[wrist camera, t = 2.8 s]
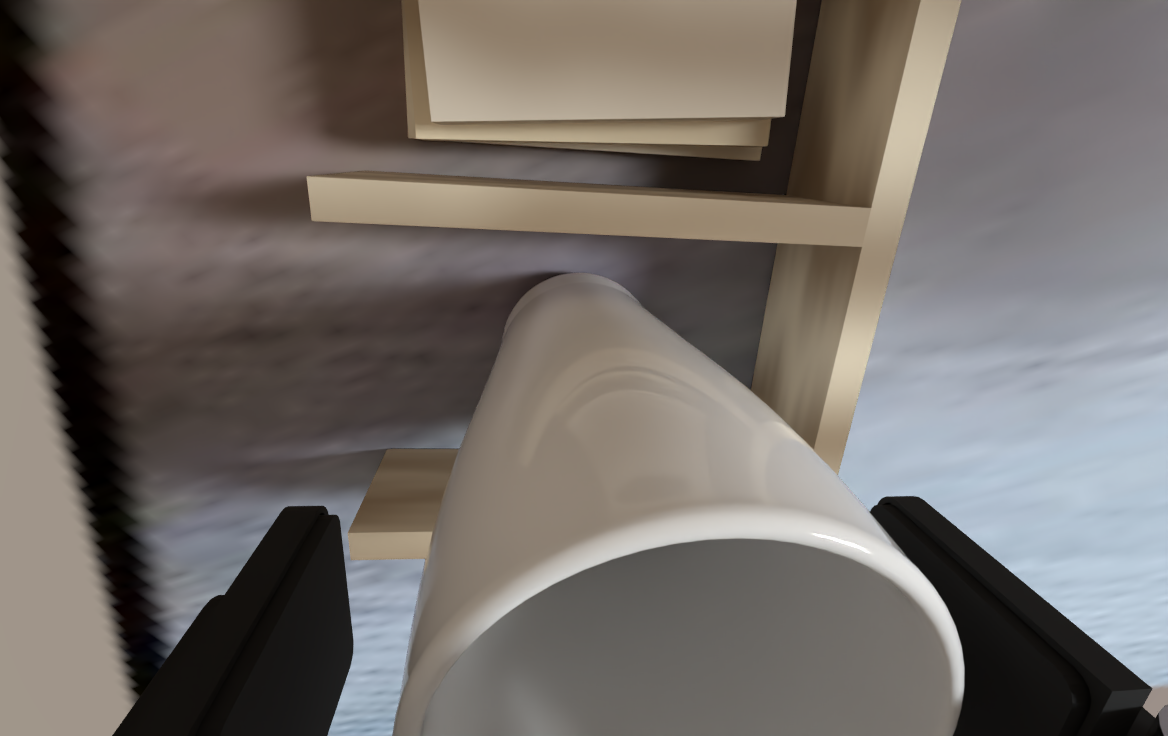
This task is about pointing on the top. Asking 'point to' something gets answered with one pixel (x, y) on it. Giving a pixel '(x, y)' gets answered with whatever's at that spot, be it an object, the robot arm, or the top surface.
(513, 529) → the white vase
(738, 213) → the rack
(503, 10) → the offcut top
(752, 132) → the board
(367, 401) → the top surface
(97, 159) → the top surface
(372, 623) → the top surface
